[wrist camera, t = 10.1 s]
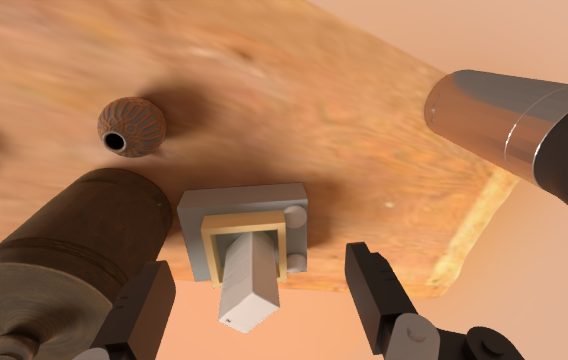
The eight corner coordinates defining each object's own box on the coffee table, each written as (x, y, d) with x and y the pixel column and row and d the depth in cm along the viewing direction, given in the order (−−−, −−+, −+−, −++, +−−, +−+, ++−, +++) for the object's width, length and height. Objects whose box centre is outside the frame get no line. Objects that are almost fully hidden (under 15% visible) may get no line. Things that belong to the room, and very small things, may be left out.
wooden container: (62, 231, 42) (-103, 395, 23) (77, 151, 37) (-125, 279, 17) (158, 258, 46) (88, 415, 27) (185, 190, 41) (121, 327, 21)
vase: (161, 88, 34) (133, 102, 26) (179, 139, 37) (159, 166, 29) (107, 97, 34) (63, 114, 26) (130, 148, 37) (96, 177, 29)
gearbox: (302, 182, 42) (311, 211, 35) (302, 250, 48) (309, 286, 41) (185, 190, 41) (170, 222, 34) (200, 259, 47) (191, 297, 40)
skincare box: (247, 260, 42) (245, 336, 31) (226, 247, 40) (215, 321, 30) (274, 237, 40) (281, 308, 30) (253, 222, 38) (252, 291, 28)
